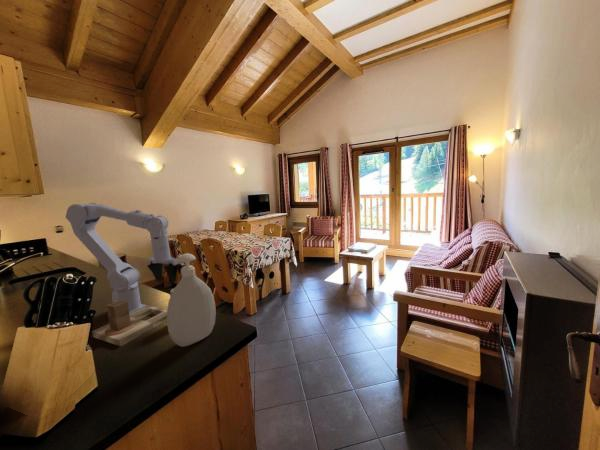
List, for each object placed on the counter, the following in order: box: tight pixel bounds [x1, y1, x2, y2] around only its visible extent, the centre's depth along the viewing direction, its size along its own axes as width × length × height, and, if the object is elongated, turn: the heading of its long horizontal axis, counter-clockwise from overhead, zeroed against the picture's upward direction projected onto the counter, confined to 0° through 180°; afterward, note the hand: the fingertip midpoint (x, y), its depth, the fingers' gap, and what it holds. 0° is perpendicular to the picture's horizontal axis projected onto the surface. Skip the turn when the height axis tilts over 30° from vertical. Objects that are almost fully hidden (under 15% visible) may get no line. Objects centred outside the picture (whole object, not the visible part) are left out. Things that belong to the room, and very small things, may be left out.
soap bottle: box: [166, 252, 217, 348], centre depth 76 cm, size 14×8×27 cm, turn 138°
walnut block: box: [106, 300, 131, 331], centre depth 82 cm, size 4×4×8 cm
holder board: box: [91, 305, 168, 347], centre depth 87 cm, size 14×19×2 cm
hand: (166, 281), depth 100 cm, fingers open, 7 cm apart
